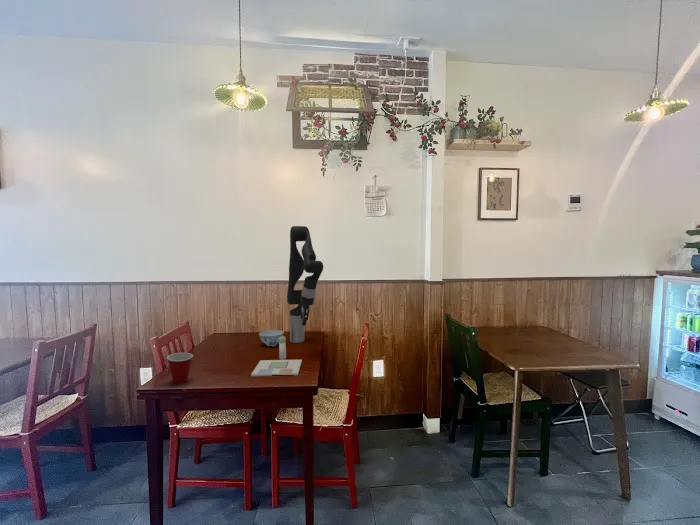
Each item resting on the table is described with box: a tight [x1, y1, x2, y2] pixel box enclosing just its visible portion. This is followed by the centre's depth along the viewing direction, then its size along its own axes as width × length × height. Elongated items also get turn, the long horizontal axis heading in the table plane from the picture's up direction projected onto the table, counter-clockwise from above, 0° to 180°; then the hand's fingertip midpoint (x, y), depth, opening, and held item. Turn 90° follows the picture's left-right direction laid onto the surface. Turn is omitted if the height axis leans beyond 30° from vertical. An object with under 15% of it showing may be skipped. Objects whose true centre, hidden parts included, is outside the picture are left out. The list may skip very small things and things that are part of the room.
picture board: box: [250, 359, 303, 377], centre depth 175 cm, size 20×22×1 cm
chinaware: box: [258, 329, 285, 347], centre depth 216 cm, size 15×15×8 cm
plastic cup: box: [166, 352, 194, 384], centre depth 159 cm, size 11×11×12 cm
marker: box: [278, 335, 287, 360], centre depth 189 cm, size 4×4×12 cm
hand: (303, 322), depth 195 cm, fingers open, 8 cm apart
